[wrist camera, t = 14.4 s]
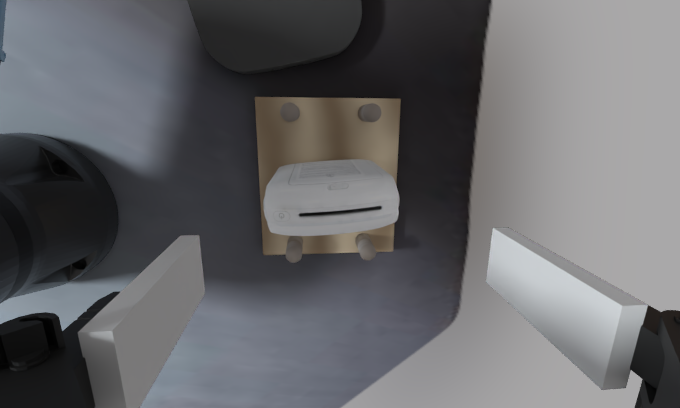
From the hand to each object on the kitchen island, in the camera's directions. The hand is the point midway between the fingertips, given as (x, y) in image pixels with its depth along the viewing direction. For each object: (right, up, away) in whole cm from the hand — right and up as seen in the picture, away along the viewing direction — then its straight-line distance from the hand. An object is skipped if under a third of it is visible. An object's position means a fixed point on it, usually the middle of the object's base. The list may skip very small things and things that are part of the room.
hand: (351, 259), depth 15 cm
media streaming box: (-7, +23, +16) cm, 29 cm away
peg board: (-2, +5, +20) cm, 21 cm away
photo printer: (-2, +5, +19) cm, 20 cm away
